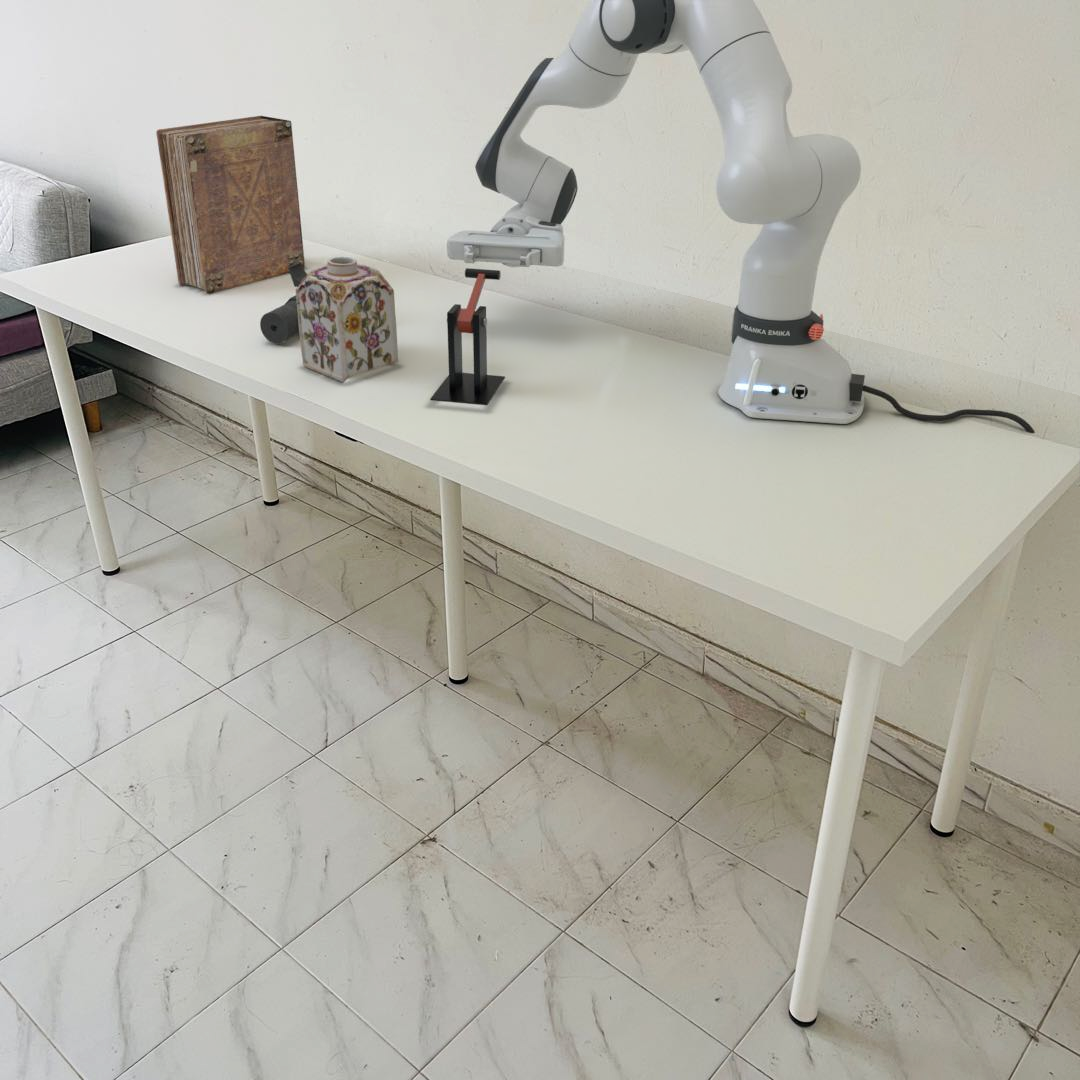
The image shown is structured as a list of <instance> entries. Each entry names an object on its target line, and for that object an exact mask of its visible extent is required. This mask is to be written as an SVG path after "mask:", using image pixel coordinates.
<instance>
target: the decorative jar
mask: <svg viewBox="0 0 1080 1080" xmlns="http://www.w3.org/2000/svg"><path fill="white" fill-rule="evenodd" d="M326 264H327V265H324V266H320V267H317V268H314V269H311V270H310V271H309V273H307V276H306V277H305V278H304V279H303V280H302V282H301V283H300V284H299V286H298V287H296V289H295V295H296V300H297V311H298V323H299V334H298V335H299V343H300V349H301V350H300V352H301V359H302V365H303V367H304V368H307V369H309V370H311V371H313V372H316V373H319V374H320V375H323V376H325V377H328V378H331V379H333V380H336V381H338V382H341V383H345V382H346V381H347V380H348V379H349V378H350V377H353V376H356V375H359V374H362V373H365V372H369V371H372V370H374V369H379V368H382V367H383V366H386V365H390V364H394V363H398V362H399V354H398V353H399V352H398V351H399V350H398V333H397V332H398V331H397V316H396V304H395V303H396V302H395V301H396V300H395V290H394V288H393V286H392V285H390V283H389V281H387V280H386V278H385V277H384V276H383V275H382V273H381V271H380V270H378V269H376V268H374V267H371V266H367V265H365V264H358V261H357V259H356V258H354V257H349V256H336V257H332V258H329V259H327V263H326Z"/></svg>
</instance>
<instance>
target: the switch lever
mask: <svg viewBox="0 0 1080 1080" xmlns="http://www.w3.org/2000/svg"><path fill="white" fill-rule="evenodd" d="M501 275H502V273H501V270H499V269H498V270H497V269H484V268H483V269H482V268H468V267H466V268H465V270H464V277H465V278H467V279H475V283H474V286H473V289H472V292H471V294H470V297H469V300H468V303H467V306H466V308H462V307H461V310H460V313H459V316H458V319H457V324H458V329H459V332H460V333H462V334H473V314H474V313H475V311H476V310H477V306H478V303H479V301H480V297H481V294H482V291H483V288H484V286H485V282H486V280H495V281H500V280H501Z"/></svg>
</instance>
